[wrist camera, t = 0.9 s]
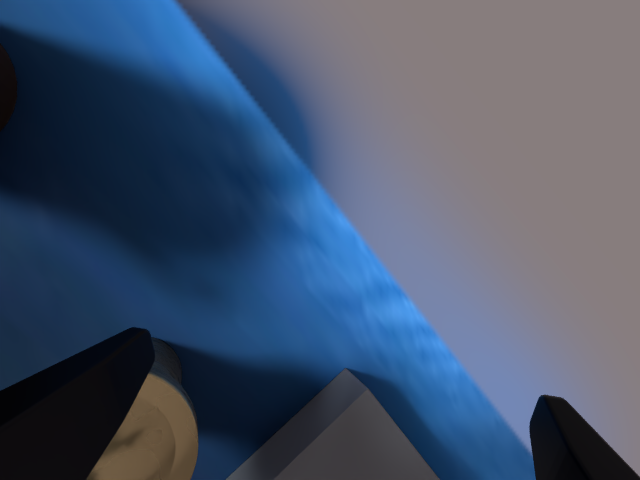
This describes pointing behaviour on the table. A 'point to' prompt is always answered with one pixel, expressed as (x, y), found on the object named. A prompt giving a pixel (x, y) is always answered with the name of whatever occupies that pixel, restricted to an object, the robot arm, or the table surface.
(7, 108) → the coffee mug
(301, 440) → the flange socket
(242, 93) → the table surface
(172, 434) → the brass fitting
